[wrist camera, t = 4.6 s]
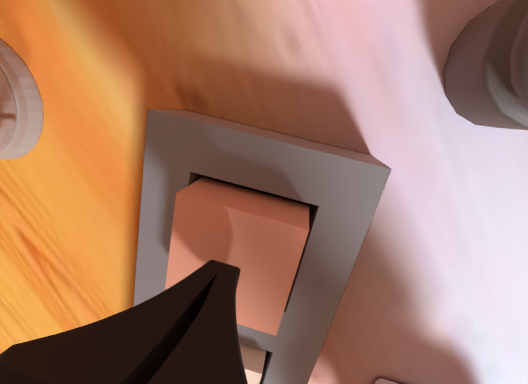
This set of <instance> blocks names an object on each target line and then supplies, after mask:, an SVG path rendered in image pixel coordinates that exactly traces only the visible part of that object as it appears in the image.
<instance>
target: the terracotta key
mask: <svg viewBox="0 0 528 384" xmlns="http://www.w3.org/2000/svg"><path fill="white" fill-rule="evenodd" d="M308 232H309V206H308V205H304V204H301V203H297V202H293V201H289V200H286V199H282V198H278V197H274V196H271V195H267V194H263V193H259V192H256V191H252V190H248V189H244V188H241V187H237V186H233V185H229V184H226V183H222V182H218V181H214V180H211V179H207V178H203V177H202V178H201V179H199V180H197V181H196V182H194V183H192V184H191V185H189V186H187V187H186V188H184V189H182V190H181V191H179V192H178V193H176V200H175V208H174V217H173V225H172V234H171V242H170V250H169V259H168V267H167V276H166V284H165V290H166V289H168V288H170V287H171V286H173V285H175V284H176V283H178V282H179V281H181V280H182V279H184V278H185V277H187V276H188V275H190V274H191V273H193V272H194V271H196V270H197V269H198V268H200V267H201V266H203V265H204V264H205V263H207V262H208V261H210V260H211V259H212V260H216V261H219V262H223V263H226V264H229V265H233V266H236V267H239V268H240V270H241V271H240V276H239V280H238V285H237V289H236V320H237V324H239V325H243V326H246V327H249V328H252V329H255V330H259V331H262V332H265V333H268V334H271V335H274V336H276V335H277V332H278V329H279V325H280V322H281V319H282V316H283V312H284V309H285V306H286V303H287V300H288V296H289V293H290V290H291V287H292V283H293V280H294V277H295V274H296V270H297V267H298V264H299V261H300V258H301V254H302V251H303V248H304V245H305V241H306V238H307V235H308Z"/></svg>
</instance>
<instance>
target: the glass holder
mask: <svg viewBox="0 0 528 384" xmlns="http://www.w3.org/2000/svg"><path fill="white" fill-rule="evenodd" d="M42 127H43V106H42V100H41V96H40V92H39V89H38V87H37V84H36V82H35V79H34V77H33V76H32V74H31V72H30V70H29V69H28V67H27V65H26V64H25V63H24V61H23V60H22V59H21V57H20V56H19V55H18V54H17V53H16V52H15V51H14V50H13V49H12V48H11V47H10V46H8V45H7V44H6V43H5V42H3V41H2V40H0V159H16V158H20V157H22V156H24V155H26V154H28V153H29V152H30V151H31V150H32V149H33V148H34V147H35V145H36V144H37V142H38V140H39V138H40V135H41V132H42Z"/></svg>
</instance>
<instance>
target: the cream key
mask: <svg viewBox="0 0 528 384" xmlns="http://www.w3.org/2000/svg"><path fill="white" fill-rule="evenodd" d="M239 345H240V351H241V356H242V361H243V365H244V369H245V373H246V378H247V382H248V384H259V383H260V380H261V376H262V372H263V367H264V361H265V355H266V350H263V349H260V348H257V347H254V346H251V345H248V344H244V343H241V342H239Z"/></svg>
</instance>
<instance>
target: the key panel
mask: <svg viewBox="0 0 528 384" xmlns="http://www.w3.org/2000/svg"><path fill="white" fill-rule="evenodd" d="M390 172H391V168H389V167H388V166H386V165H385V164H383V163H382V162H380V161H379V160H378V159H376V158H375V157H373V156H372V155H368V154H364V153H360V152H356V151H351V150H347V149H343V148H339V147H335V146H331V145H327V144H323V143H319V142H315V141H311V140H306V139H302V138H298V137H294V136H290V135H286V134H282V133H278V132H274V131H270V130H265V129H261V128H257V127H253V126H249V125H245V124H241V123H237V122H233V121H229V120H225V119H220V118H216V117H212V116H208V115H204V114H200V113H196V112H192V111H188V110H178V109H148V111H147V124H146V138H145V152H144V166H143V180H142V194H141V207H140V221H139V235H138V249H137V263H136V276H135V290H134V304H133V307H134V306H136V305H138V304H140V303H142V302H144V301H146V300H148V299H150V298H152V297H154V296H156V295H158V294H159V293H161V292H163V291H164V290H165V284H166V276H167V267H168V259H169V250H170V242H171V234H172V225H173V217H174V208H175V200H176V193H178V192H179V191H181V190H182V189H184V188H186V187H187V186H189V185H191V184H192V183H194V182H196V181H197V180H199V179H201V178H202V177H203V178H207V179H211V180H213V178H216V179H219V180H223V181H227V182H231V183H235V184H238V185H242V186H246V187H250V188H253V189H257V190H261V191H265V192H268V193H272V194H276V195H280V196H283V197H287V198H291V199H295V200H298V201H302V202H306V203H310V204H311V206H310V209H309V232H308V235H307V238H306V241H305V245H304V248H303V251H302V254H301V258H300V261H299V264H298V267H297V270H296V274H295V277H294V280H293V283H292V287H291V290H290V293H289V296H288V300H287V303H286V306H285V309H284V312H283V316H282V319H281V322H280V325H279V329H278V332H277V335H276V336H274V335H271V334H268V333H265V332H262V331H259V330H255V329H252V328H249V327H246V326H243V325H239V324H237V331H238V338H239V342H241V343H244V344H248V345H251V346H254V347H257V348H260V349H263V350H266V351H267V352H266V355H265V361H264V367H263V372H262V376H261V380H260V383H259V384H308V381H309V379H310V376H311V373H312V371H313V368H314V366H315V363H316V361H317V358H318V356H319V353H320V350H321V348H322V345H323V343H324V340H325V338H326V335H327V333H328V330H329V327H330V325H331V322H332V320H333V317H334V315H335V312H336V310H337V307H338V305H339V302H340V299H341V297H342V294H343V292H344V289H345V287H346V284H347V282H348V279H349V276H350V274H351V271H352V269H353V266H354V264H355V261H356V259H357V256H358V253H359V251H360V248H361V246H362V243H363V241H364V238H365V236H366V233H367V231H368V228H369V225H370V223H371V220H372V218H373V215H374V213H375V210H376V208H377V205H378V202H379V200H380V197H381V195H382V192H383V190H384V187H385V185H386V182H387V179H388V177H389V174H390Z"/></svg>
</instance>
